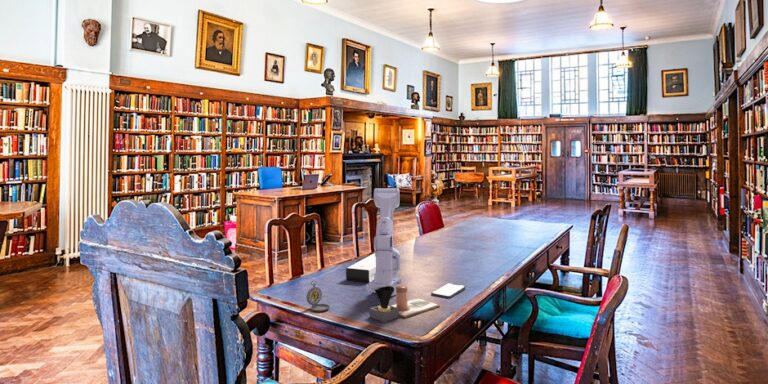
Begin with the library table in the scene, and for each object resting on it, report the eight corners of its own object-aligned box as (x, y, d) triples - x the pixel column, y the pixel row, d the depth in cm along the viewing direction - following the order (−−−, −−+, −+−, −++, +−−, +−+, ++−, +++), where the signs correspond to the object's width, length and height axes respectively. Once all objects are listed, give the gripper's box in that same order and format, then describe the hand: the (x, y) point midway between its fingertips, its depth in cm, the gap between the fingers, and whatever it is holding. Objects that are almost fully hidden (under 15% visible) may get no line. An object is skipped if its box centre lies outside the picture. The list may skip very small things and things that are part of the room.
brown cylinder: (394, 308, 161) (393, 286, 160) (401, 306, 164) (401, 284, 163) (402, 311, 158) (401, 289, 157) (409, 308, 161) (409, 286, 160)
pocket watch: (326, 313, 160) (325, 285, 159) (304, 311, 161) (303, 284, 161) (333, 305, 168) (332, 279, 167) (311, 304, 169) (311, 278, 169)
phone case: (449, 300, 175) (466, 289, 188) (449, 296, 174) (466, 285, 188) (429, 296, 180) (447, 286, 193) (429, 292, 179) (447, 282, 193)
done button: (375, 315, 155) (375, 307, 155) (384, 312, 158) (384, 304, 158) (383, 318, 152) (383, 310, 152) (393, 315, 155) (393, 307, 155)
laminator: (368, 283, 198) (368, 270, 197) (343, 281, 202) (343, 267, 202) (394, 266, 229) (394, 254, 229) (372, 264, 234) (372, 252, 233)
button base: (369, 316, 156) (369, 308, 155) (385, 311, 160) (385, 303, 160) (383, 322, 150) (383, 313, 150) (399, 317, 155) (399, 308, 155)
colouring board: (381, 309, 162) (381, 307, 162) (416, 299, 174) (416, 297, 174) (404, 318, 153) (404, 316, 153) (439, 306, 165) (439, 304, 165)
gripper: (375, 275, 146) (375, 315, 147) (407, 267, 156) (407, 305, 157) (362, 271, 152) (362, 310, 153) (393, 264, 161) (393, 301, 162)
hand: (384, 307), depth 155 cm, fingers closed, pressing on done button
